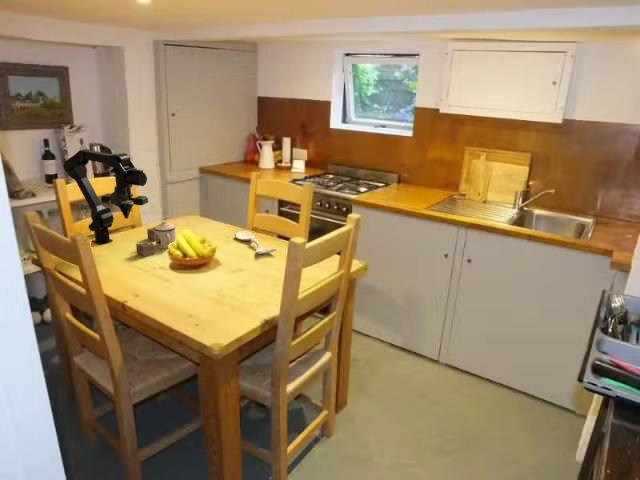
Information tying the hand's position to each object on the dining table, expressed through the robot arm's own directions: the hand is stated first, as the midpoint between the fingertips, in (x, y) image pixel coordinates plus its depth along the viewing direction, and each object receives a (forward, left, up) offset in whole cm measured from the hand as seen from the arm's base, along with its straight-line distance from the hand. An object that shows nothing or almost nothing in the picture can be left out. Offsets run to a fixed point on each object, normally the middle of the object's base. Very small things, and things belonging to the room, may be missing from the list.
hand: (126, 218), depth 203 cm
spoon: (+42, +36, -14) cm, 57 cm away
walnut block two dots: (+14, -2, -13) cm, 19 cm away
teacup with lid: (+13, +10, -13) cm, 21 cm away
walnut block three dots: (+1, +14, -13) cm, 19 cm away
